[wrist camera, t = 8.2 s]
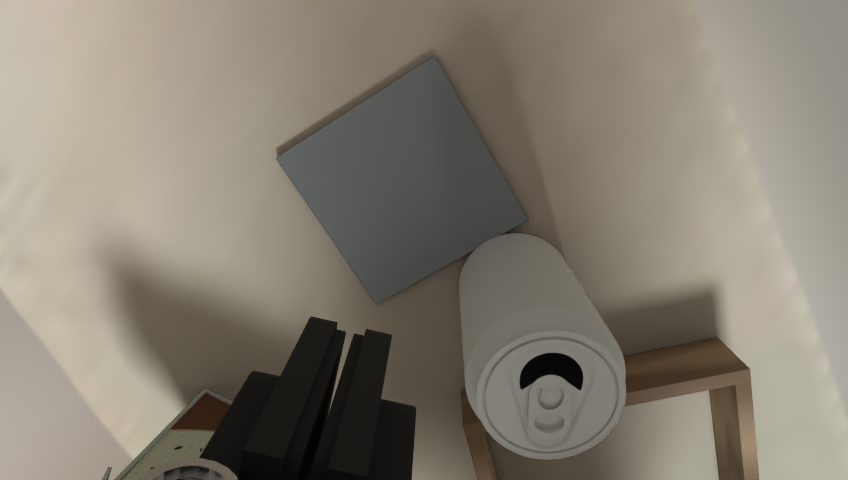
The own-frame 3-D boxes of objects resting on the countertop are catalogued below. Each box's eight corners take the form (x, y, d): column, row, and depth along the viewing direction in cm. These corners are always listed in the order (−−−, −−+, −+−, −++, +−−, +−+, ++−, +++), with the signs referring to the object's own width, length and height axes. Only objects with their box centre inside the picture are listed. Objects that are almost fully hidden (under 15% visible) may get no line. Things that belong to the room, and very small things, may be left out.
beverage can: (571, 228, 31) (646, 321, 19) (563, 331, 33) (628, 471, 21) (458, 228, 31) (467, 321, 19) (457, 330, 33) (465, 468, 21)
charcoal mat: (527, 217, 30) (528, 219, 30) (377, 301, 32) (376, 304, 32) (434, 56, 28) (434, 56, 27) (277, 156, 30) (275, 158, 29)
